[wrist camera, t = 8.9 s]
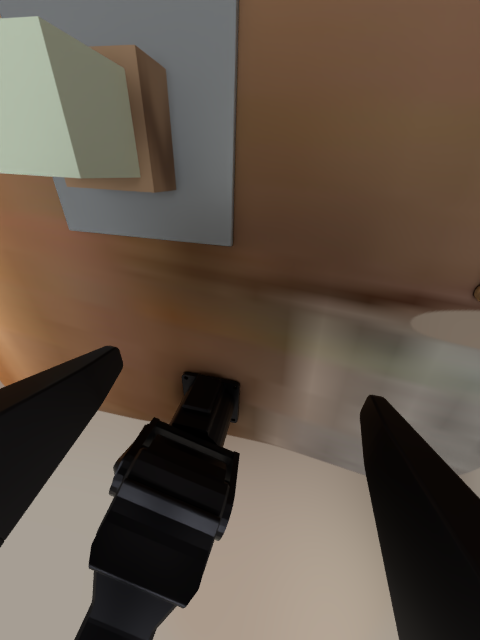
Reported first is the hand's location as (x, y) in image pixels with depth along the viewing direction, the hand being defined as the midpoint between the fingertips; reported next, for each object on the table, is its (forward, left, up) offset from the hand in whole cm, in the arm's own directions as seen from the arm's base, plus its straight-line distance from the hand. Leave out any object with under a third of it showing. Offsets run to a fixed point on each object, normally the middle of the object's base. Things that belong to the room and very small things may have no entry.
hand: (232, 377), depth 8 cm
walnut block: (+8, +10, -12) cm, 17 cm away
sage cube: (+8, +10, -8) cm, 15 cm away
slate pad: (+8, +10, -12) cm, 18 cm away
